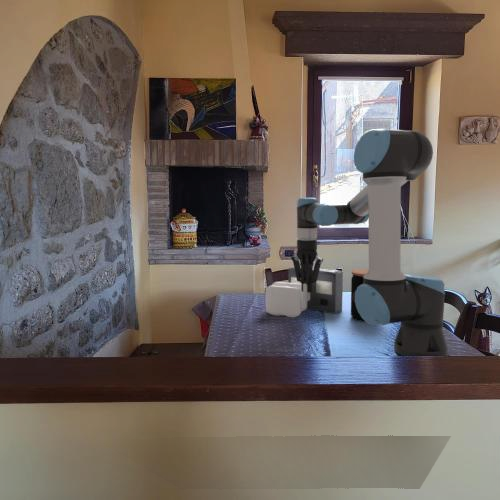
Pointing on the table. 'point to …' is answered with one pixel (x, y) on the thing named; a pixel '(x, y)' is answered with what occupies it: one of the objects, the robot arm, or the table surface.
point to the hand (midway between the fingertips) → (306, 300)
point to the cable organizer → (285, 299)
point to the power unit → (323, 290)
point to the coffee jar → (355, 282)
